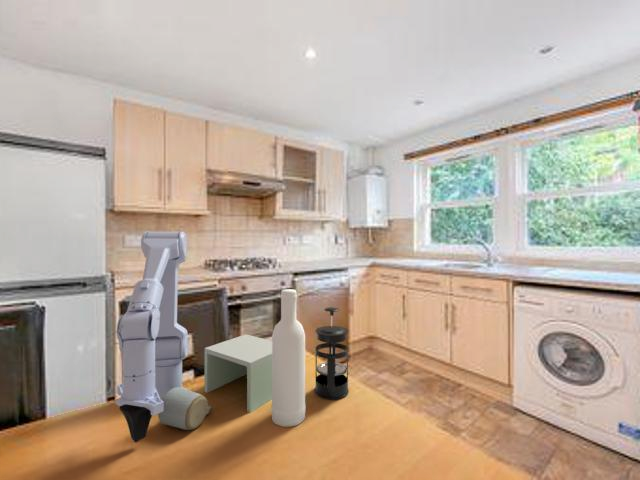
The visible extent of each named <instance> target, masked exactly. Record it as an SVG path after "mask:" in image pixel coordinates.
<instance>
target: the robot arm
mask: <svg viewBox="0 0 640 480" xmlns="http://www.w3.org/2000/svg"><path fill="white" fill-rule="evenodd" d="M187 241H188V240H187V235H186V233H185V232H184V231H181V230H180V231H150V230H146V231H144V233H143V234H142V236H141V240H140V249H141V251H142V253H143V256H144V258H145V264H144V268H143V269H144V270H143V275H142V279H141V280H139V281H137V282H136V283H135V285H134V286H133V287H134V288H133V291H132V294H131V297H130V300H129V303H128V307H127V309H126V312H125V313H124V314H123V313H122V314H121V315H120V316H119V318H118V320H117V326H116V337H117V340H118V344H119V345H118V346H119V348H118V349H119V352H122V354H121V355H122V358H121V359H122V360H121V366H122V367H121V372H122V374H121V376H122V377H121V378H122V379H121V381H122V382H121V383H120V384H117V385H116V386H117V387H116V388H117V389H116V390H117V391H116V393H117V396H120V397H118V398H117V399H115V405H117V406H119V410H120V412H121V413H122V415H123V416H124V419H125V421H126V423H127V428H128V430H129V434H130V437H131V441H133V442H134V443H138V442H140V441H141V440H143V439H145V438H147V434H148V431H149V426H150V423H151V420H152V417H154V416H156V415H158V414H159V413H161V412H163V401H162V399H163V398H164V396H165V395H166V394H167V393H168V392H169V391H170V390H171V389H173V388H175V387H180V388H183V389H186V390H189V389H188V388H186V387H183V360H185V359H186V358H187V356H188V354H189V353H188V352H189V345H190V344H189V336H188V334H189V333H188V332H189V331H188V330H187V328H185V327H184V326H183V325H181V324H179V323H178V292H179V291H178V289H179V286H178V284H179V280H178V279H179V268H180V264H181V263H185V262H187V261H186V259H187V255H188V254H187V249H188V247H187V246H188V243H187Z"/></svg>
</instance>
